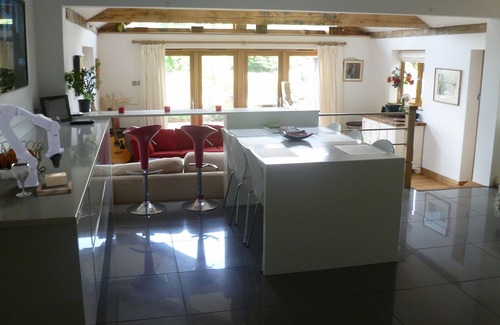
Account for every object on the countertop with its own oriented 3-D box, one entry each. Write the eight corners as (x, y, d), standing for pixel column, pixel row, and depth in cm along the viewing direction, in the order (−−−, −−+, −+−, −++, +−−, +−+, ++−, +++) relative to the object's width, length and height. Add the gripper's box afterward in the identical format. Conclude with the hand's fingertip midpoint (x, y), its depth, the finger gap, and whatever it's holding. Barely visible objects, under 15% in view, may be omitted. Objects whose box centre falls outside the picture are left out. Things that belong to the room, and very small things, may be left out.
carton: (46, 187, 253) (45, 177, 251) (45, 183, 259) (44, 174, 257) (67, 184, 257) (66, 175, 256) (66, 181, 263) (65, 172, 262)
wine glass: (13, 197, 235) (9, 167, 231) (16, 192, 242) (12, 163, 238) (31, 196, 237) (28, 165, 233) (33, 191, 244) (30, 162, 241)
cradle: (36, 195, 237) (36, 191, 237) (39, 187, 251) (38, 183, 250) (71, 192, 242) (71, 188, 241) (72, 184, 255) (72, 181, 255)
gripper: (54, 140, 269) (57, 164, 272) (39, 145, 255) (41, 170, 258) (66, 140, 268) (68, 164, 271) (51, 145, 254) (54, 171, 257)
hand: (56, 167), depth 265 cm, fingers closed
